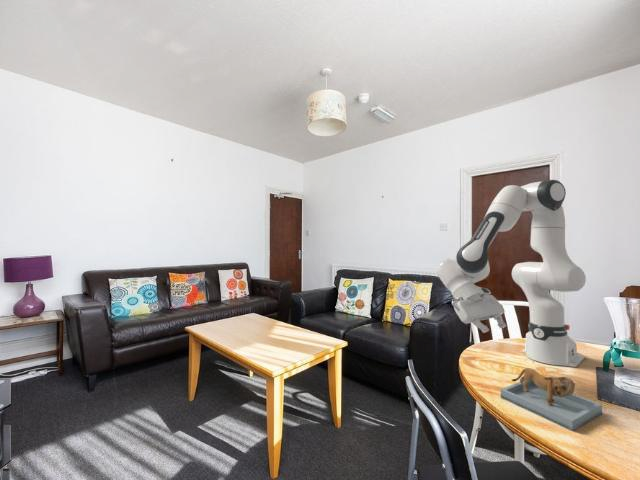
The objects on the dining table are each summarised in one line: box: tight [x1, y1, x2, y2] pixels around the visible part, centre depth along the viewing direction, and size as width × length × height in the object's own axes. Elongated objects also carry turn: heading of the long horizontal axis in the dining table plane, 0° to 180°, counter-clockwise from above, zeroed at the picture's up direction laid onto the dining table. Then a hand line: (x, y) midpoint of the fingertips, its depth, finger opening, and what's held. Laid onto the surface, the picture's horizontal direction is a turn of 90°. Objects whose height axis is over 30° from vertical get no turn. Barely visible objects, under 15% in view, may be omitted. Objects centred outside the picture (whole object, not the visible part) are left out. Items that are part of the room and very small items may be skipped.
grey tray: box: [500, 380, 603, 432], centre depth 84 cm, size 16×18×2 cm
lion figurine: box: [511, 367, 576, 406], centre depth 86 cm, size 15×5×9 cm, turn 38°
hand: (495, 329), depth 99 cm, fingers open, 8 cm apart
